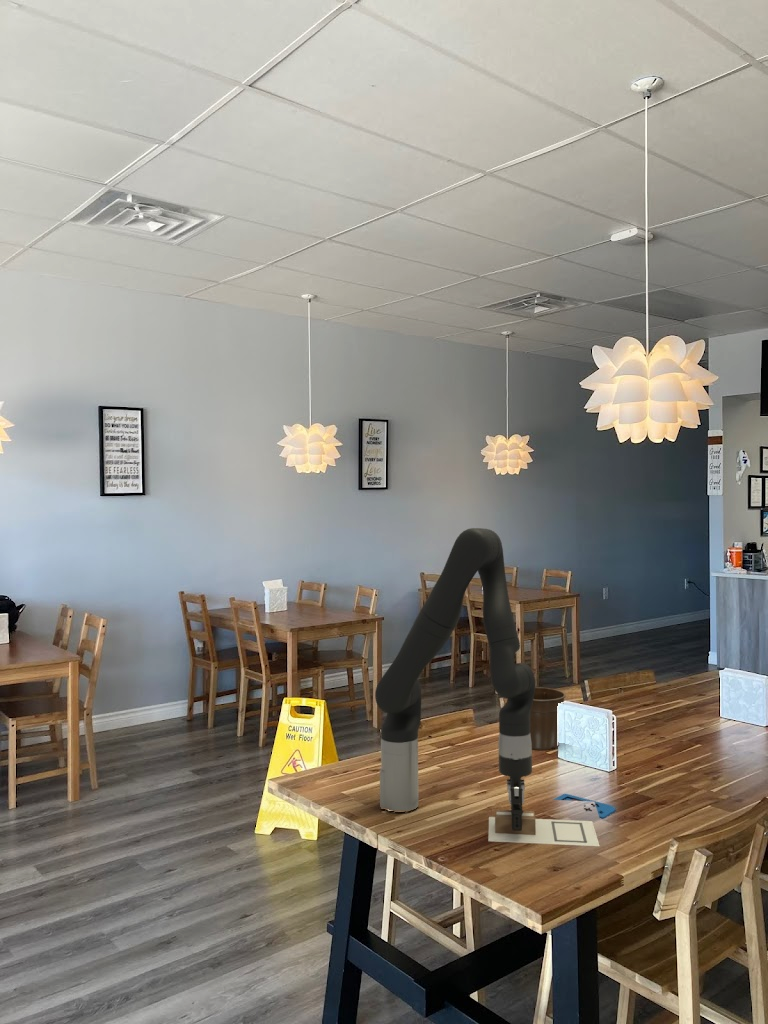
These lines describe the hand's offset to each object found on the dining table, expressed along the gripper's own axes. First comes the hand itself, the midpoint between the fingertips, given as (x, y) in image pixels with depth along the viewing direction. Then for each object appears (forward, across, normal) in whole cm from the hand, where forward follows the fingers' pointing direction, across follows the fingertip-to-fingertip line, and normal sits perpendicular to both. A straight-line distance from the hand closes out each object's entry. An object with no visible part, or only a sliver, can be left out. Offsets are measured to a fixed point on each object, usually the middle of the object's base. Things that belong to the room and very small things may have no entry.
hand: (516, 822), depth 186 cm
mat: (+2, 0, +6) cm, 6 cm away
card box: (+2, 0, 0) cm, 2 cm away
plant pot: (+2, -68, +9) cm, 69 cm away
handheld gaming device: (+3, -17, +17) cm, 24 cm away
